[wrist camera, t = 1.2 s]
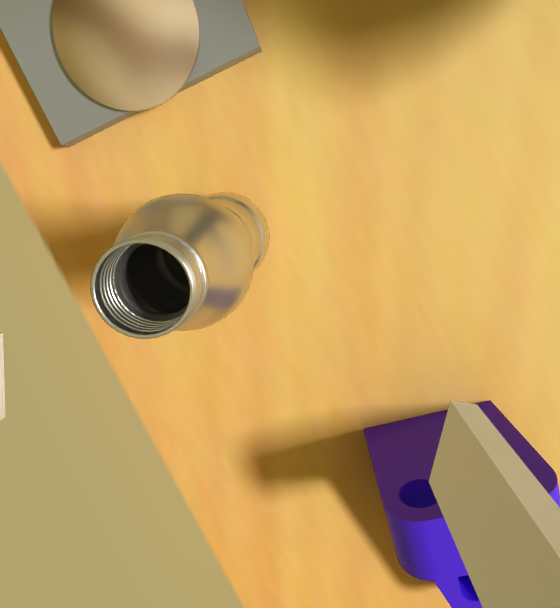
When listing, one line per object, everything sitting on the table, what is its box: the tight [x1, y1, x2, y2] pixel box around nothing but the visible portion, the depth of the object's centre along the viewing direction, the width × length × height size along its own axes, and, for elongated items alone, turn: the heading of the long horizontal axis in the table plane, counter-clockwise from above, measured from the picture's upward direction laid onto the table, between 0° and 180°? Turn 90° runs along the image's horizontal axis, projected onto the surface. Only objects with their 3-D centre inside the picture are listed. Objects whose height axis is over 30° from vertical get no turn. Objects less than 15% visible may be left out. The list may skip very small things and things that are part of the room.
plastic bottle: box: [90, 192, 270, 339], centre depth 25 cm, size 6×7×20 cm
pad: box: [52, 0, 200, 111], centre depth 30 cm, size 10×10×1 cm
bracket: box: [364, 401, 560, 608], centre depth 34 cm, size 18×11×12 cm, turn 16°
